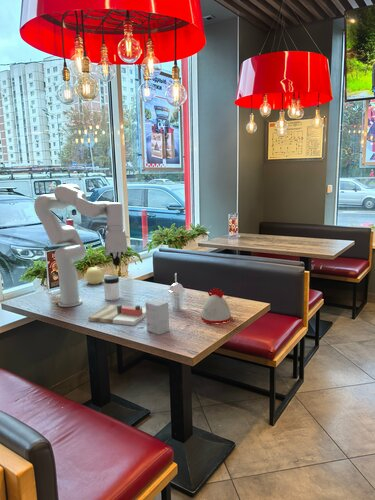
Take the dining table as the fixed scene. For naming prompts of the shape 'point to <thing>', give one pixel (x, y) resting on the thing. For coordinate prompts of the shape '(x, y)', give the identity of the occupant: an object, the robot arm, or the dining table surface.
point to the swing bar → (132, 310)
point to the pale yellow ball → (95, 275)
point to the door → (129, 318)
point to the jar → (111, 287)
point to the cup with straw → (176, 295)
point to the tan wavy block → (106, 314)
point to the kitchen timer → (215, 308)
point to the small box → (157, 316)
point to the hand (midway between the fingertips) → (116, 265)
